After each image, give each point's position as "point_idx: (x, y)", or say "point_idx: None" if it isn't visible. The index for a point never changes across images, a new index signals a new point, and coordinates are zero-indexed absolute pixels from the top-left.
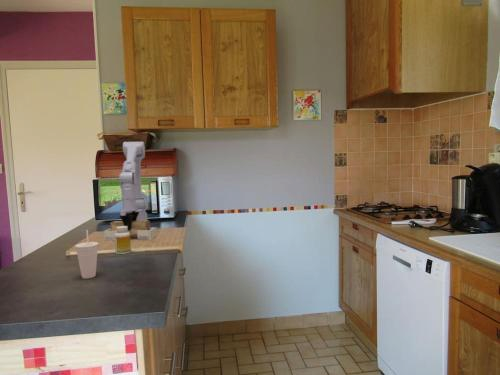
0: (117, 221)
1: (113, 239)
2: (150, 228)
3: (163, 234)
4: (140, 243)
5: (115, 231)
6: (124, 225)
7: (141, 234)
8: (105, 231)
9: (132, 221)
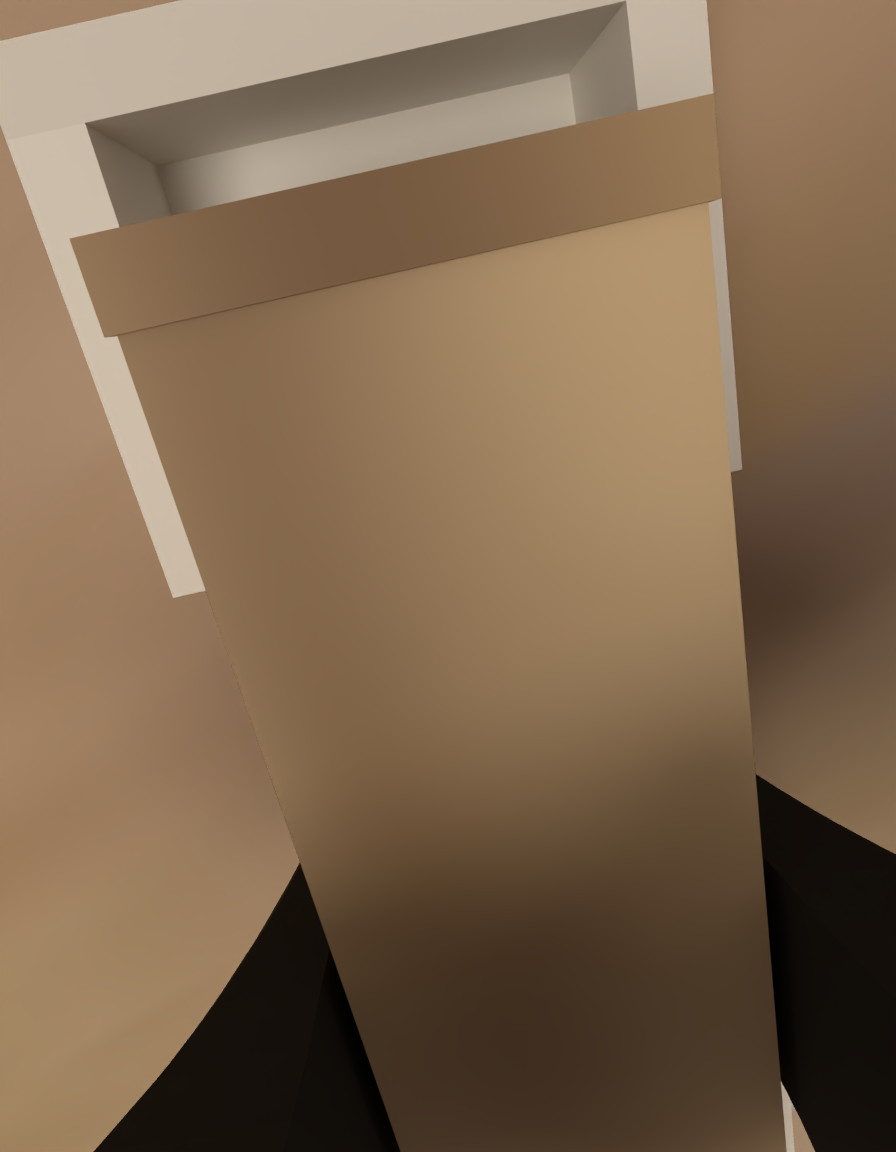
0: (590, 431)
1: None
2: None
3: None
4: (126, 1097)
5: (159, 542)
6: (261, 939)
7: None
8: (4, 132)
9: (637, 1109)
